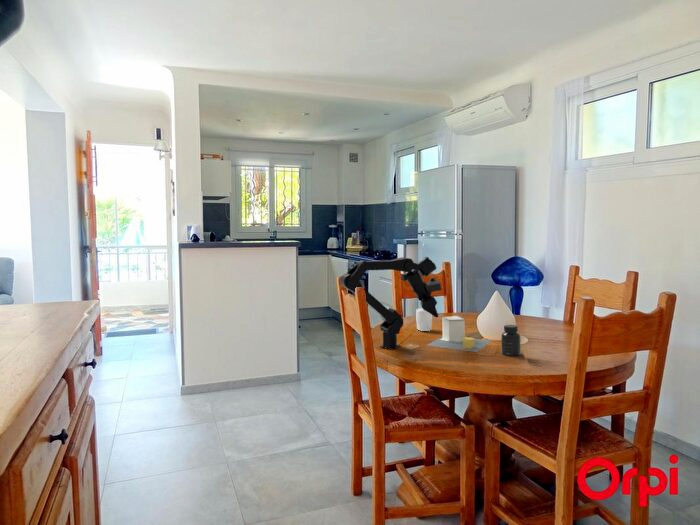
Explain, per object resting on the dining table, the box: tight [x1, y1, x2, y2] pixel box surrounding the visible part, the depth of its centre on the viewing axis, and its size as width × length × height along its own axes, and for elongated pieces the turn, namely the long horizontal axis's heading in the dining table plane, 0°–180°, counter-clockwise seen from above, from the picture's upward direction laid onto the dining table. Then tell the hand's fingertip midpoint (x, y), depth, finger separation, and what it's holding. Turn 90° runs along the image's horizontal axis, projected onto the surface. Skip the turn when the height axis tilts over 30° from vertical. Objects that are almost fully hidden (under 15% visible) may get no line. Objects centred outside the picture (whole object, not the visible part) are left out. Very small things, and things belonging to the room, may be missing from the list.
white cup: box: [415, 307, 433, 332], centre depth 229 cm, size 8×8×10 cm
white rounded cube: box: [441, 315, 466, 341], centre depth 206 cm, size 7×7×9 cm
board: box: [426, 336, 492, 353], centre depth 200 cm, size 20×21×5 cm
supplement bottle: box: [500, 324, 521, 358], centre depth 181 cm, size 7×7×12 cm
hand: (435, 313), depth 206 cm, fingers open, 9 cm apart
